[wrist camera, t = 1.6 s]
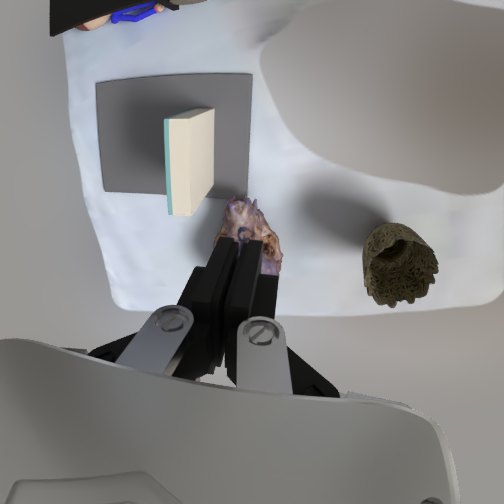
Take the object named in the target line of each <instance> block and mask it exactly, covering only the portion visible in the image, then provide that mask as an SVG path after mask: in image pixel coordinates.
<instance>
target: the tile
mask: <svg viewBox="0 0 504 504" xmlns="http://www.w3.org/2000/svg"><path fill="white" fill-rule="evenodd" d="M214 113H215V108H194V109H191V110H188V111H185V112H182V113H180V114H177V115H174V116H171V117H168V118H166V119H164V142H165V167H166V186H167V202H168V214H169V215H181V216H192V214H193V213H194V211H195V210H196V208H197V207H198V206H199V204H200V203H201V201H202V200H203V199H204V197H205V196H206V194H207V193H208V192H209V190H210V189H211V188H212V186H213V185H214Z"/></svg>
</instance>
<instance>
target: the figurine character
mask: <svg viewBox="0 0 504 504" xmlns="http://www.w3.org/2000/svg"><path fill="white" fill-rule="evenodd" d="M204 1H207V0H50V36H53V37H54V36H55V35H58V34H60V33H63V32H65V31H67V30H69V29H72V28H74V27H75V28H77V29H79V30H84V31H89V30H94V29H97V28H99V27H100V26H102V25H103V24H105V23H106V22H107V21H108V19H109V18H110V17H111V22H112V23H114V24H115V23H118V22H119V21H120V20H122V21H131V22H137V21H139V20H142V19H144V18H146V17H148V16H150V15H152V14H154V13H157V12H161V11H163V10H164V8H165V7H167V8H169V9H171V10H173V11H174V10H179V5H187V4H195V3H200V2H204ZM154 4H155V5H154ZM150 5H154V7H153V8H151V9H149V10H147V11H145V12H142V13H140V14H138V15H136V16H133V15H123V14H122V13H125V12H129V11H132V10H136V9H139V8H143V7H146V6H150ZM112 13H113V14H112ZM111 15H112V16H111Z"/></svg>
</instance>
